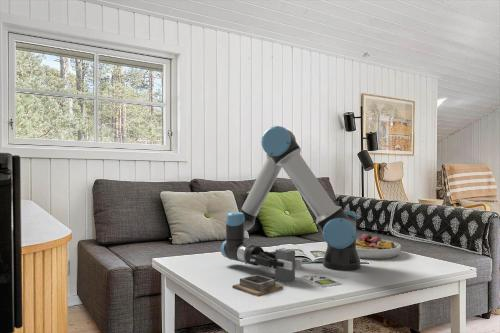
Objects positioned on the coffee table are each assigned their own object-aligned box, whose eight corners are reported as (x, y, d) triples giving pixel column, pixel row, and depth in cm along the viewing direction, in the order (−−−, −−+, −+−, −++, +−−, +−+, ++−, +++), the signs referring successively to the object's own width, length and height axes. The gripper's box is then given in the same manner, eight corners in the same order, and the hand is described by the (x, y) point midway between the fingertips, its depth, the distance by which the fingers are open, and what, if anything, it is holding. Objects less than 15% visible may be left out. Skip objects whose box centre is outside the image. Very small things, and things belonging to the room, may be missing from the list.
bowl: (406, 262, 175) (406, 244, 175) (335, 259, 181) (335, 241, 181) (395, 248, 205) (395, 233, 205) (335, 246, 211) (335, 231, 211)
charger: (283, 277, 149) (283, 247, 149) (294, 280, 145) (295, 249, 145) (275, 280, 146) (275, 248, 146) (286, 283, 142) (286, 251, 142)
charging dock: (257, 281, 145) (257, 272, 145) (282, 288, 136) (282, 279, 136) (232, 287, 136) (232, 278, 137) (257, 296, 128) (257, 286, 128)
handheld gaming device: (317, 273, 155) (342, 283, 141) (317, 274, 155) (342, 285, 141) (298, 275, 151) (322, 286, 137) (298, 277, 151) (322, 288, 137)
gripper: (266, 260, 165) (312, 271, 148) (234, 267, 153) (279, 280, 136) (266, 242, 165) (312, 250, 148) (234, 247, 153) (279, 258, 136)
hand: (296, 265), depth 142 cm, fingers closed on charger, 4 cm apart
